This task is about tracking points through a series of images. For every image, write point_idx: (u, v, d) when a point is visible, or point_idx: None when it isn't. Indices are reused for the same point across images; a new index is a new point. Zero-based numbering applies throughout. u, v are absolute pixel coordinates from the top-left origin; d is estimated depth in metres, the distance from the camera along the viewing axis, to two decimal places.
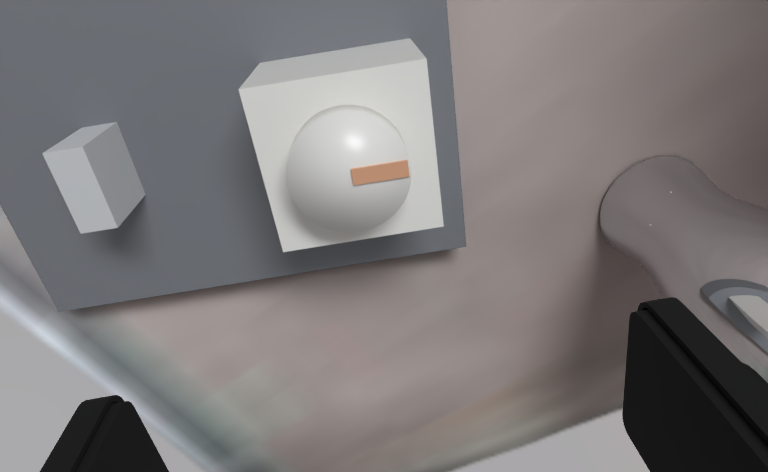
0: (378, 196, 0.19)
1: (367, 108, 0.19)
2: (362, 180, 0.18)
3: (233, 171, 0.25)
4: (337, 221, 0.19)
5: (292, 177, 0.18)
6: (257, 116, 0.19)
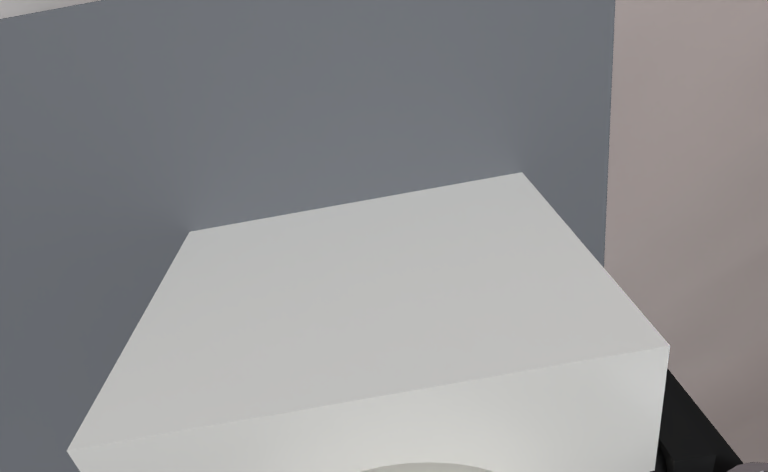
0: None
1: None
2: None
3: None
4: None
5: None
6: None
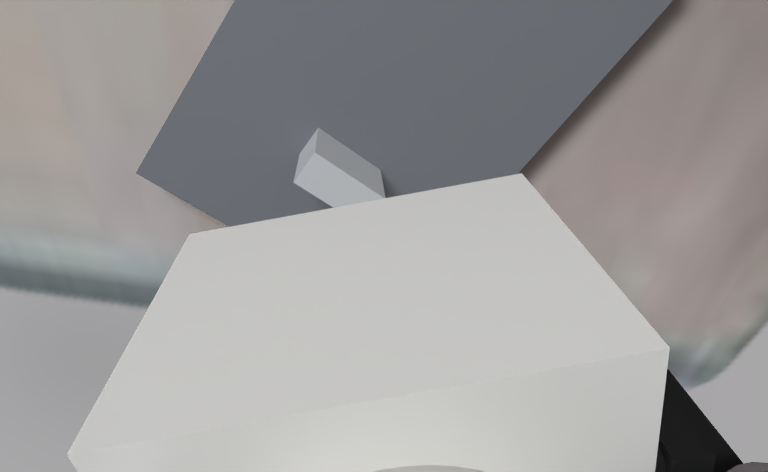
0: None
1: None
2: None
3: (431, 89, 0.24)
4: None
5: None
6: None
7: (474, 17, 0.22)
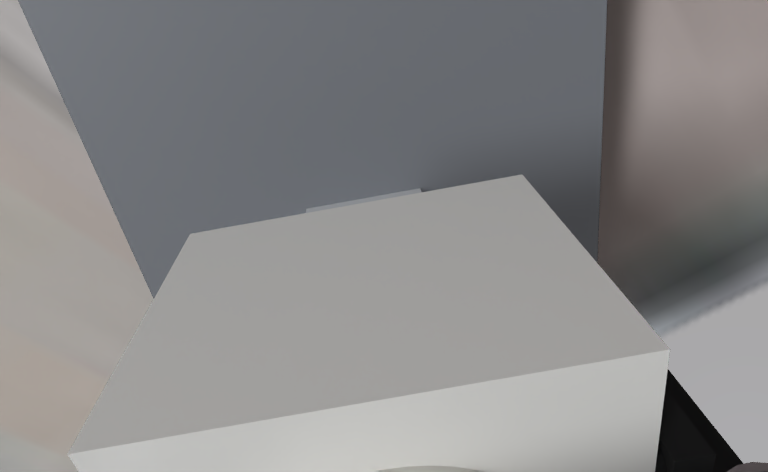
0: None
1: None
2: None
3: (383, 42, 0.14)
4: None
5: None
6: None
7: None
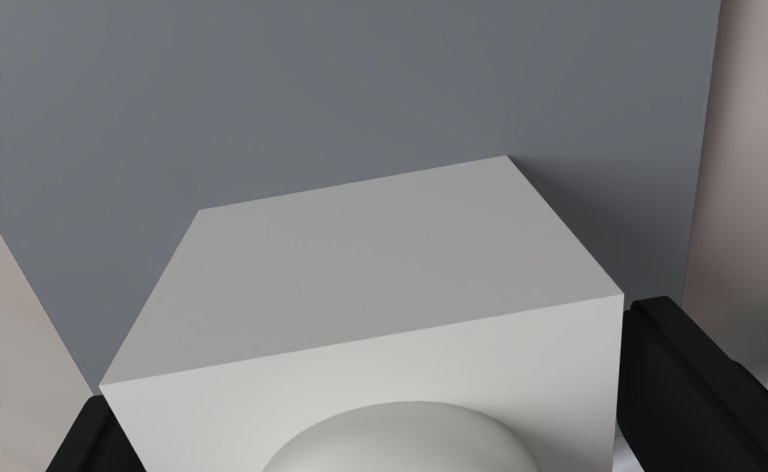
0: None
1: (452, 410, 0.07)
2: None
3: (404, 80, 0.10)
4: None
5: None
6: (159, 438, 0.07)
7: None
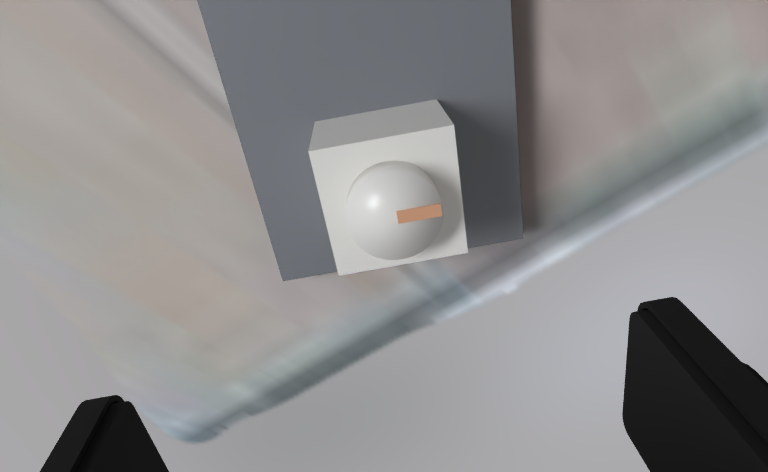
0: (417, 231, 0.24)
1: (407, 163, 0.24)
2: (405, 219, 0.24)
3: (395, 69, 0.27)
4: (384, 251, 0.24)
5: (350, 218, 0.23)
6: (322, 171, 0.24)
7: None
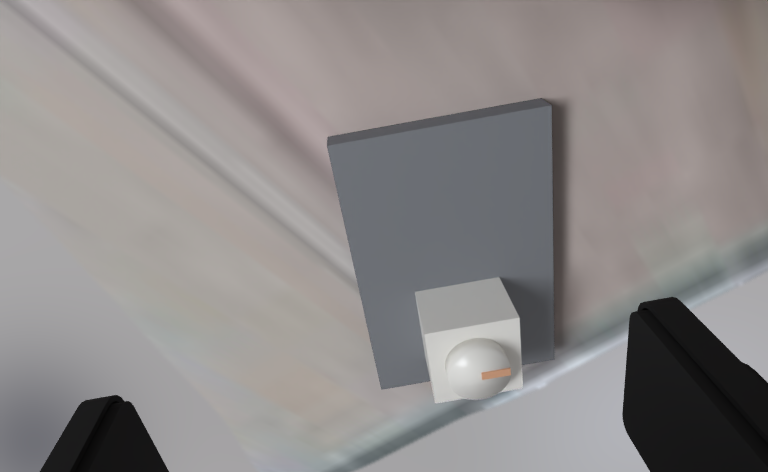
0: (493, 383, 0.37)
1: (488, 339, 0.36)
2: (486, 377, 0.36)
3: (472, 260, 0.39)
4: (471, 395, 0.37)
5: (451, 377, 0.36)
6: (431, 344, 0.36)
7: (463, 220, 0.38)
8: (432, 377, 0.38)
